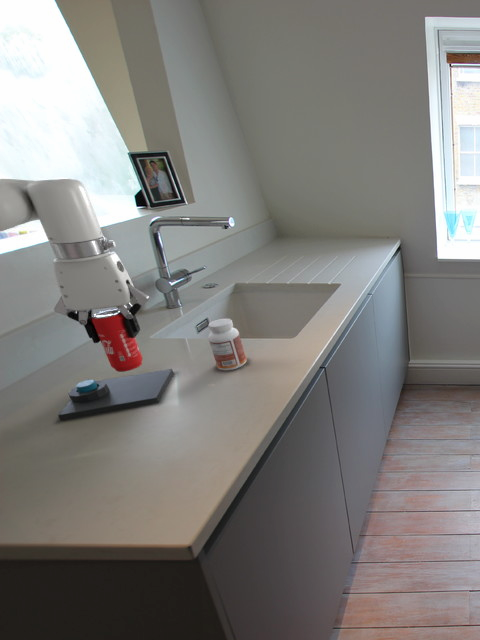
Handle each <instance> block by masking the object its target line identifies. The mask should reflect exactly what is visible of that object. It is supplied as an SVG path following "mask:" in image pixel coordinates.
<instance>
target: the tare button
mask: <svg viewBox="0 0 480 640" xmlns="http://www.w3.org/2000/svg"><path fill="white" fill-rule="evenodd" d="M95 381H96V380H95V379H86V380H83V381H80V382H78V383H76V384H75V387H76V388H77V390H78V392H79V393H85V392H89V391H92V390H94V389H96V388H98V387H97V384H96V382H95Z"/></svg>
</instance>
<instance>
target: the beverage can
mask: <svg viewBox="0 0 480 640" xmlns="http://www.w3.org/2000/svg"><path fill="white" fill-rule="evenodd" d="M92 317H93V319H92V322H93V324H94V327H95V329H96V331H97V334H98V336H99V338H100V344H101V346H102V347H103V350H104V353H105V355H106V358H107V360H108V362H109V364H110V367H111V368H112V369H114V370H115V371H116V372H118V373H124V372H128V371H129V372H130V371H133V370H135V369H136V370H137V368H140V367H141V366H142V364H143V363H142V362H143V356H142V354H141V351H140V347H139V345H138V342H137V340H136V337H135V338H130V337H129V334H128V332H127V329H126V327H125V324H124V320H125V317H124V315H123V314H122V313H121V312H120V310H119V309H118V308H111V309H105V310H101V311H98V312H96V313H93V316H92Z"/></svg>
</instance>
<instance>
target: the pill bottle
mask: <svg viewBox="0 0 480 640" xmlns="http://www.w3.org/2000/svg"><path fill="white" fill-rule="evenodd" d="M208 329H209V334H208V336H207V338H208V339H207V340H208V342H209V345H210V349H211V353H212V355H213V358H214V362H215V364H216V367H217V368H218V369H219V370H221V371H233V370H236V369H239V368H241V367H243V366H244V365H245V364H246V363H247V356H246V353H245V349H244V345H243V343H242V339H241V335H240V331H239V330H238V329H237V328H235V327H234V323H233V320H232V319H231V318H219V319H214V320H212V321H210V322H209V323H208Z"/></svg>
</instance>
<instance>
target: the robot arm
mask: <svg viewBox="0 0 480 640" xmlns="http://www.w3.org/2000/svg"><path fill="white" fill-rule="evenodd" d="M34 221H39V222H40V224H41V226H42V229H43V231H44V233H45V236H46V238H47V240H48V243H49V245H50V247H51V249H52V252H53V254H54V256H55V258H54V259H53V260H52V263H53V270H54V274H55V280H56V283H57V287H58V290H59V293H60V295H61V296H60V297H59V299H58V301H57V303H56V304H55V306H54V307H53V311H54V312H56V313H58V314H60V315H63V316H67V317H68V318H69V319H71V320H73V321H76V322H78V324H79V325H81V326H83V327H84V329H85V331H86V333H87V336H88V338H89V339H91V340H92V342H93V344H99V342H100V343H101V341H100V338H99V336H98V334H97V331H96V329H95V327H94V324H93V322H92V319H93V317H92V316H93V315H94V313H93V312H94V311H93V310H99V309H100V310H101V309H109V308H116V309H119V310H120V312H121V313H122V314H123V315H124V317H125V320H124V324H125V327H126V329H127V332H128V334H129V337H130V338H135V339H136V337H137V335H138V334H139V333H140V331H141V326H140V324H139V322H138V319H137V316H136V315H137V313H138V312H139V311H140V310H141V308H142V307H143V306H144V305H145V304H146V303H147V302H148V301H149V300H150V296H149V295H148V294H146V293H144V292H143V291H141V290H140V289H138V288H136V287H135V286H134V284H133V281H132V279H131V277H130V275H129V272H128V270H127V268H126V267H125V266H124V264H123V261H122V260H121V258H120V257H119V255H118V254H117V253H116V251H111V249H113V248H116V247H117V243H116V241H115V240H113V239H112V240H109V239H107V237H106V236H104V233H103V231H102V229H101V225H100V223H99V221H98V218H97V215H96V212H95V210H94V207H93V204H92V202H91V199H90V196H89V194H88V192H87V189H86V187H85V185H84V184H83V182H81V181H80V180H79V179H76V178H71V177H70V178H69V177H55V178H42V179H36V180H34V179H33V180H32V179H15V178H0V232H5V231H7V230H9V229H12V228H15V227H18V226H20V225H23V224H28V223H30V222H34ZM132 299H136V302H135V303H134V304H131V300H132Z"/></svg>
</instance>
